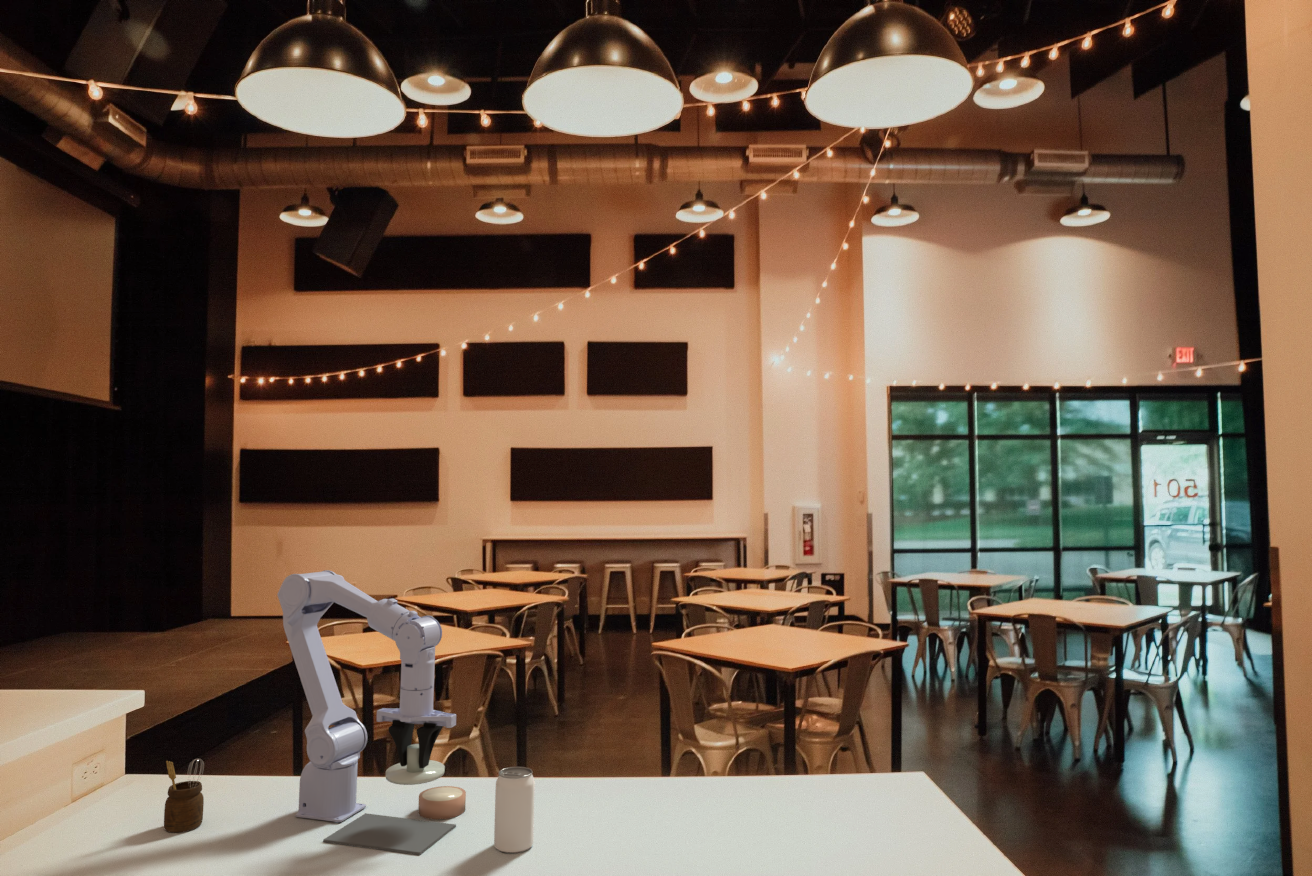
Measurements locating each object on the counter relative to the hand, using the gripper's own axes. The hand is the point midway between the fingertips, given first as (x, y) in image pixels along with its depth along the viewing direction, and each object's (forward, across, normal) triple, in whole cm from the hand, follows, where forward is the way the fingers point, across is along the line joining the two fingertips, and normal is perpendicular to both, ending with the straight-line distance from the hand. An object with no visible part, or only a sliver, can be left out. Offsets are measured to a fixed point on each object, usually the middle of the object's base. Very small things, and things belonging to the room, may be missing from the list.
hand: (414, 765), depth 147 cm
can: (+11, +20, -3) cm, 23 cm away
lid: (+2, 0, 0) cm, 2 cm away
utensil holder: (+11, -38, -11) cm, 41 cm away
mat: (+10, -2, -4) cm, 11 cm away
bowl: (+10, +2, +8) cm, 13 cm away
